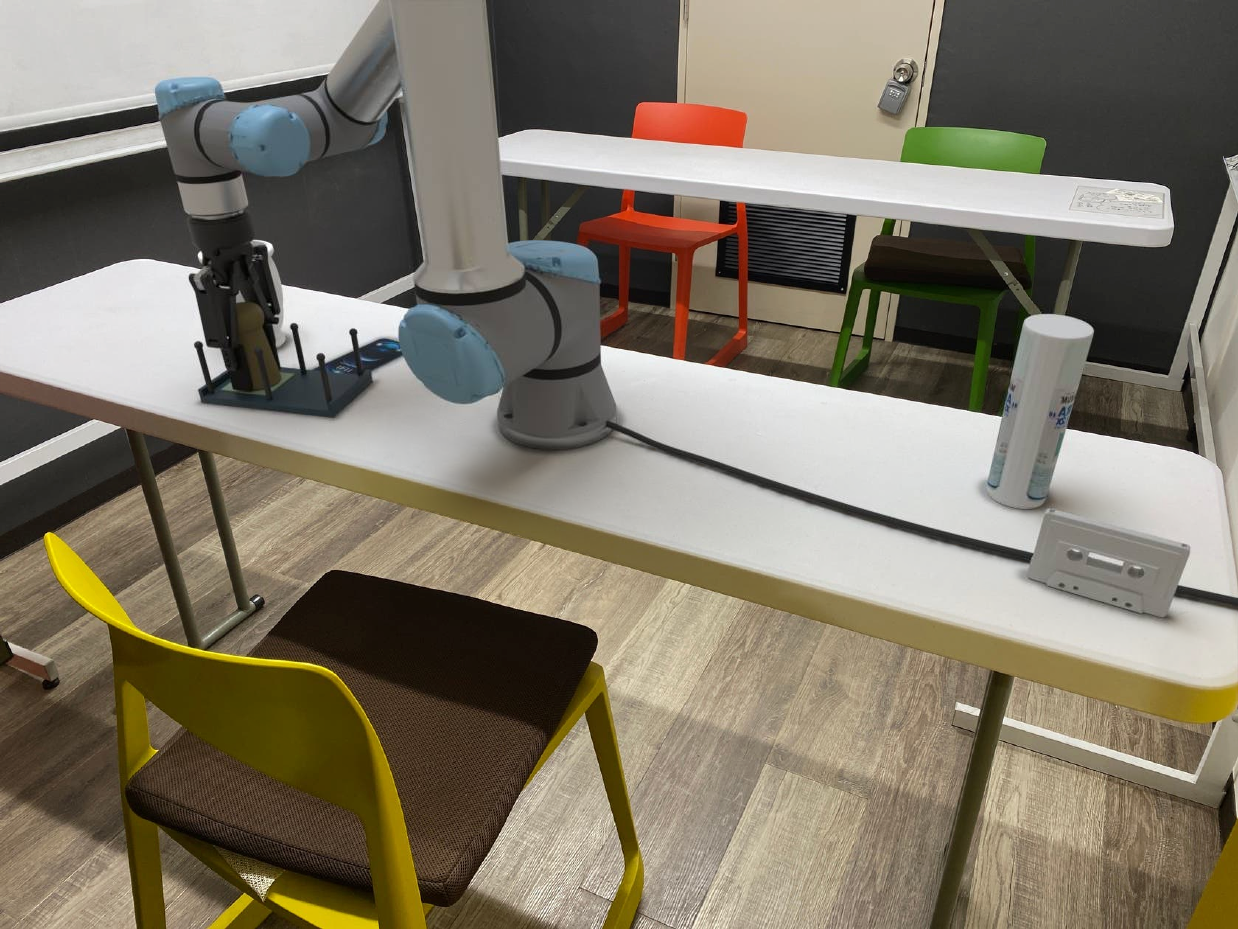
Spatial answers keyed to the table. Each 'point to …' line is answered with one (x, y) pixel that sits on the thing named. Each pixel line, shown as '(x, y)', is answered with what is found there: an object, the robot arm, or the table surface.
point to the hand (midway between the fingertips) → (257, 378)
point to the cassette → (1102, 578)
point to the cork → (255, 343)
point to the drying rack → (290, 385)
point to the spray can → (1038, 408)
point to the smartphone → (366, 357)
